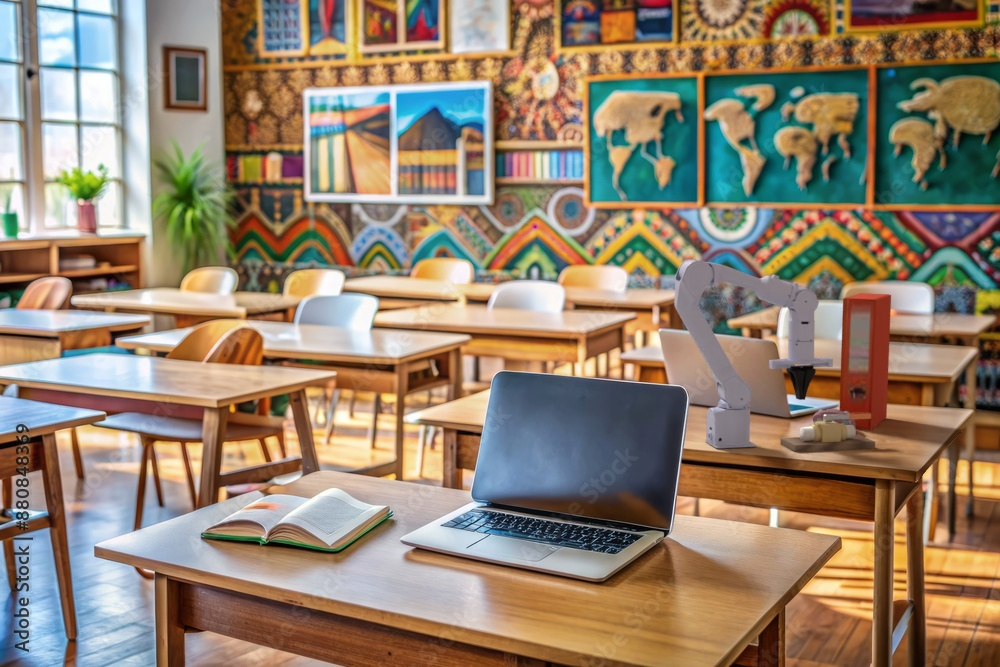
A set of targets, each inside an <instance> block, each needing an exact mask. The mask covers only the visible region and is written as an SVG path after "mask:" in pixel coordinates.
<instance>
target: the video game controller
mask: <svg viewBox="0 0 1000 667" xmlns="http://www.w3.org/2000/svg"><path fill="white" fill-rule="evenodd" d="M847 413H849V412H848V411H845V412H843V411H841V410H839V409H837V408H827V409H822V408H820V409H819V410H818V411H816V412H815V413H814V414H813V416H812V421H813V423H814V422H816V421H823V415H825V414H847ZM832 421H834V422H837V423H839V424H842V423H843V424H845V425H853V426H854V427H855V430H857V429H856V424H855V421H854V419H852V420H850V419H833V420H832Z"/></svg>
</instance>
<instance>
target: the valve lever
mask: <svg viewBox="0 0 1000 667" xmlns="http://www.w3.org/2000/svg"><path fill="white" fill-rule="evenodd" d="M833 419H850V420H852V419H871V413H869V412H856V413H847V414H825V415H823V421H824V422H832V420H833Z"/></svg>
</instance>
